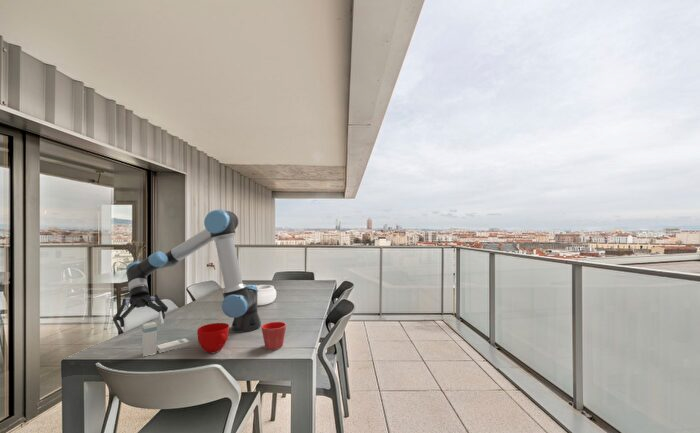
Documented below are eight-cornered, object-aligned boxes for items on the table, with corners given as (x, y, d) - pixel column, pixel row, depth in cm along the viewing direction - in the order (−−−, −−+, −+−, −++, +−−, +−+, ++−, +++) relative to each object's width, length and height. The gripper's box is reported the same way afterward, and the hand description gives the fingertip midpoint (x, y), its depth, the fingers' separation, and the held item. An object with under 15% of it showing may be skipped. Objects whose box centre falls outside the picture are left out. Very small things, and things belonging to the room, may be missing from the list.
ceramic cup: (209, 361, 121) (209, 336, 121) (192, 351, 132) (192, 328, 132) (238, 351, 131) (238, 328, 131) (220, 342, 142) (220, 321, 142)
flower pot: (265, 342, 141) (265, 321, 141) (288, 342, 141) (288, 321, 141) (258, 351, 130) (258, 329, 131) (282, 351, 130) (282, 328, 130)
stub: (154, 351, 133) (154, 321, 133) (156, 353, 129) (157, 323, 130) (141, 354, 129) (142, 324, 130) (144, 357, 126) (144, 326, 127)
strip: (185, 342, 142) (185, 337, 142) (189, 345, 138) (189, 341, 138) (155, 350, 134) (155, 345, 134) (159, 353, 130) (159, 348, 130)
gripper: (166, 290, 154) (174, 326, 143) (104, 299, 137) (108, 340, 125) (169, 281, 151) (177, 317, 139) (106, 289, 133) (109, 331, 122)
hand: (144, 328), depth 132 cm, fingers open, 13 cm apart
